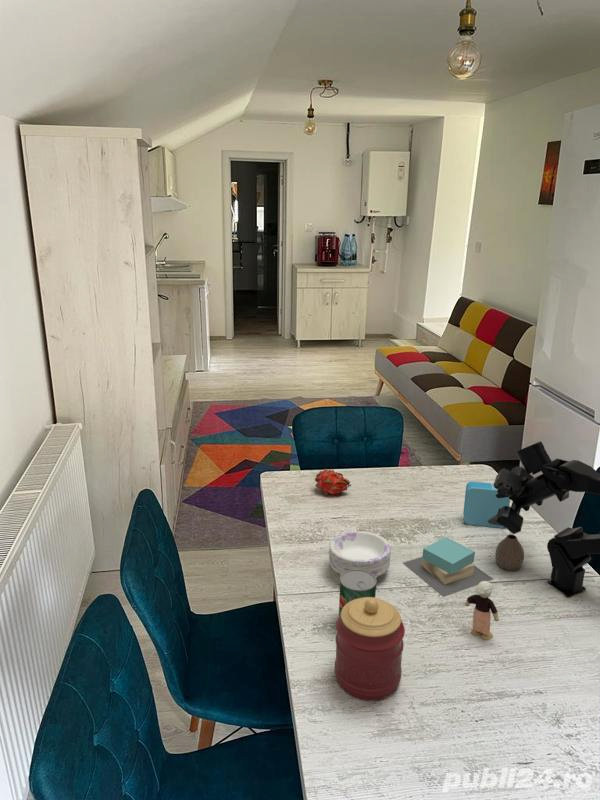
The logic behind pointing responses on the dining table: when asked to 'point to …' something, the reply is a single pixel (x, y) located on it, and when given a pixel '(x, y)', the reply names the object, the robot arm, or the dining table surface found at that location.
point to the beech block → (447, 577)
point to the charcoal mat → (452, 587)
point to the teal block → (448, 555)
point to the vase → (509, 553)
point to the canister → (369, 648)
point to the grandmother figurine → (482, 610)
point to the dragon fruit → (331, 482)
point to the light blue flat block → (482, 504)
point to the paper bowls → (359, 553)
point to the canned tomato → (356, 586)
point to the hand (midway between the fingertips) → (492, 509)
